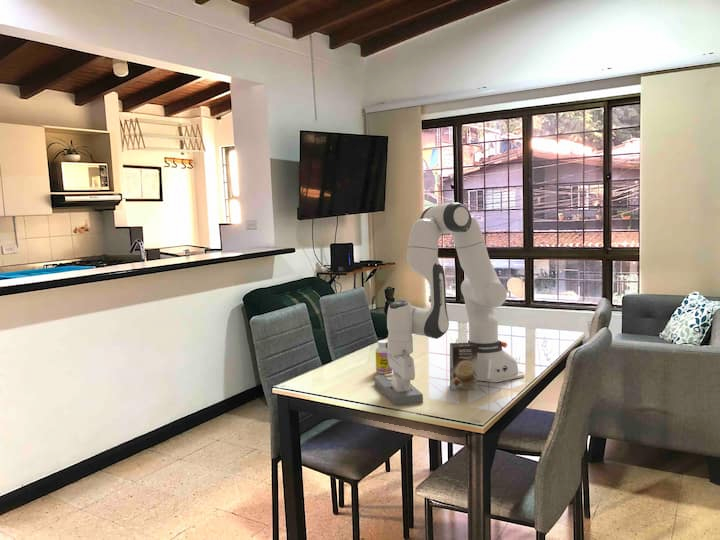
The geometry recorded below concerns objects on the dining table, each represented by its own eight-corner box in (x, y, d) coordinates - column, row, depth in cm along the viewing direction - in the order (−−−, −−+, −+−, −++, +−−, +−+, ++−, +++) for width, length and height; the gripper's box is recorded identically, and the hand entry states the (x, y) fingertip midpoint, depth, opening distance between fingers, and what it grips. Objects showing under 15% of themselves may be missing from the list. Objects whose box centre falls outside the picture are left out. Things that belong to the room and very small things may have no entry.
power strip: (399, 381, 220) (399, 372, 220) (422, 402, 195) (422, 392, 195) (374, 383, 218) (374, 374, 218) (394, 405, 193) (394, 395, 193)
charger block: (406, 394, 205) (405, 369, 204) (410, 398, 200) (410, 373, 199) (392, 395, 204) (392, 370, 203) (397, 400, 199) (396, 374, 198)
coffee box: (452, 390, 207) (452, 347, 206) (449, 385, 214) (448, 343, 212) (478, 389, 208) (477, 346, 206) (473, 384, 214) (473, 342, 212)
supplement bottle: (378, 375, 229) (378, 343, 228) (374, 370, 236) (373, 340, 234) (394, 373, 231) (393, 342, 230) (389, 369, 238) (388, 338, 236)
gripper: (418, 353, 191) (419, 393, 192) (400, 340, 210) (401, 376, 212) (401, 355, 189) (402, 395, 191) (383, 342, 209) (384, 378, 210)
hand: (401, 385), depth 201 cm, fingers open, 8 cm apart
